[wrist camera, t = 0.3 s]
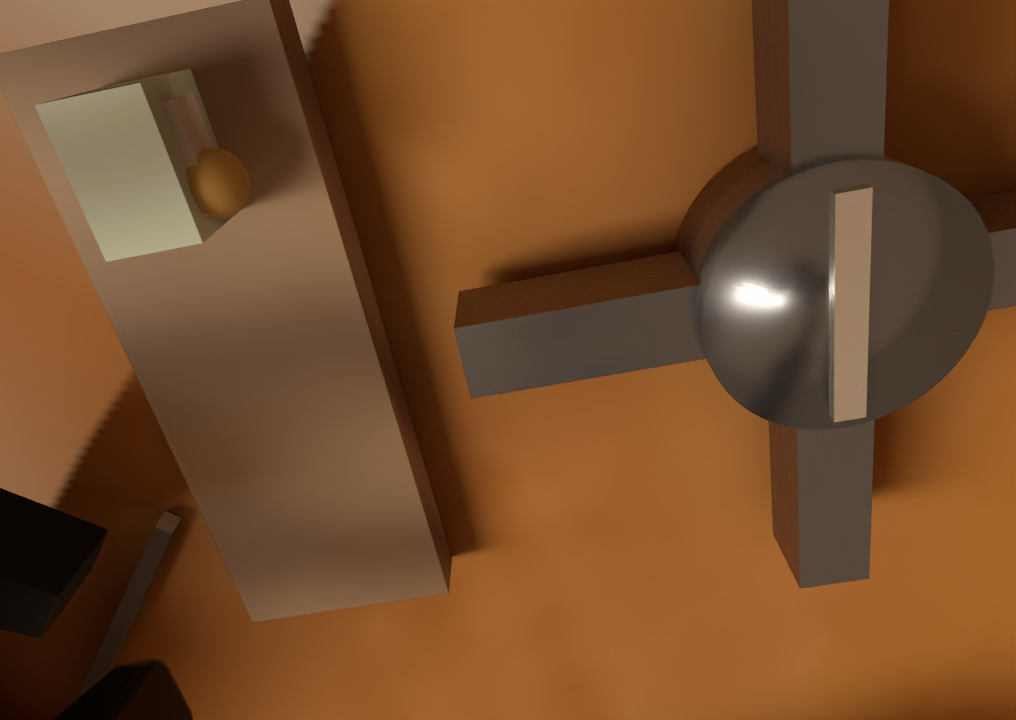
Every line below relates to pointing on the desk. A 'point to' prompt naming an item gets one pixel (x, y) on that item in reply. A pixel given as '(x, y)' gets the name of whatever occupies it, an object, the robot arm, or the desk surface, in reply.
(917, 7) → the desk surface
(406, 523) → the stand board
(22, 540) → the toy soldier
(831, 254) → the capstan
